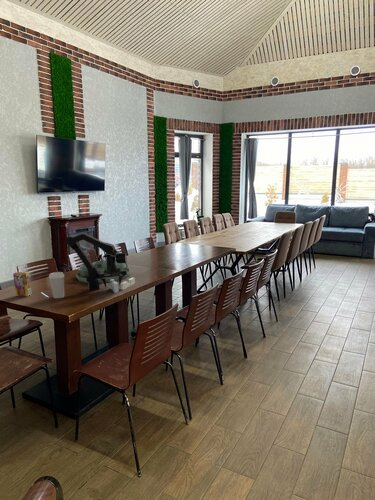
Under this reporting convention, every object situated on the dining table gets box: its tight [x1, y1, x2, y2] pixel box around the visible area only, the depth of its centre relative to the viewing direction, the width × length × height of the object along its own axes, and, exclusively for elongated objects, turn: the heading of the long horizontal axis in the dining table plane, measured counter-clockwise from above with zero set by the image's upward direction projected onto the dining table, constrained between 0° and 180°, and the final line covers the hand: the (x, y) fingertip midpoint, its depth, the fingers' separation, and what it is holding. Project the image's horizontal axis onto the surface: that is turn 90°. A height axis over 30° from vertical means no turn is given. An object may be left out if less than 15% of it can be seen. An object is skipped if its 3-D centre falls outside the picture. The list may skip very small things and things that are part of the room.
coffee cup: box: [48, 271, 66, 299], centre depth 229 cm, size 10×10×15 cm
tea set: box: [75, 250, 131, 284], centre depth 277 cm, size 40×40×16 cm
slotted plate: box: [109, 279, 119, 294], centre depth 240 cm, size 12×2×6 cm, turn 25°
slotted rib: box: [120, 277, 136, 291], centre depth 248 cm, size 16×2×4 cm, turn 160°
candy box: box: [12, 271, 33, 297], centre depth 234 cm, size 9×4×15 cm, turn 82°
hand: (112, 286), depth 244 cm, fingers open, 9 cm apart
